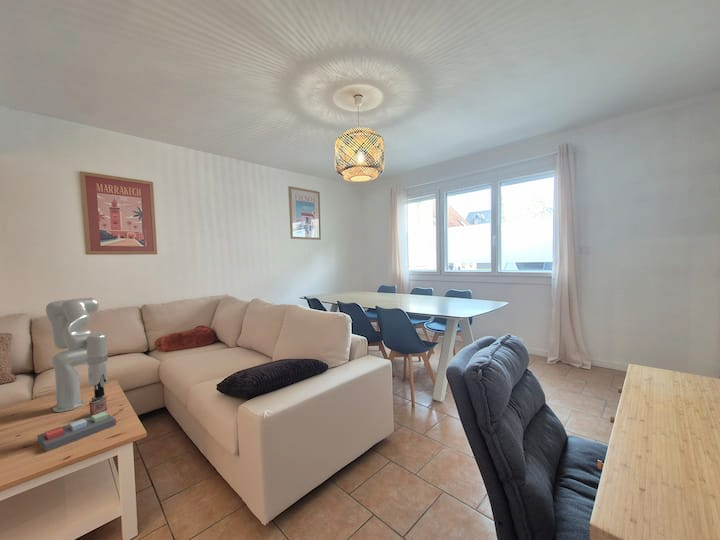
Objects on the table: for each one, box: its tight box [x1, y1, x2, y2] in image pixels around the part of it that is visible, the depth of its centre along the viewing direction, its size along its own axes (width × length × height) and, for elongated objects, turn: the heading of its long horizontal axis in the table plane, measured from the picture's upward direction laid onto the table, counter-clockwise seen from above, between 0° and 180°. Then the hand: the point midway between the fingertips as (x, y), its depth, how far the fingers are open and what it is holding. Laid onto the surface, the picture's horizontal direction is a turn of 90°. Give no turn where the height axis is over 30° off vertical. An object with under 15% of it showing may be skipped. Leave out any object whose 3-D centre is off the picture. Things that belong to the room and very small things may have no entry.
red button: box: [44, 426, 64, 440], centre depth 131 cm, size 5×5×3 cm
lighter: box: [88, 392, 108, 417], centre depth 157 cm, size 8×3×10 cm, turn 168°
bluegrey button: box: [69, 418, 87, 431], centre depth 138 cm, size 5×5×3 cm
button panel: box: [36, 413, 117, 453], centre depth 138 cm, size 14×24×3 cm, turn 148°
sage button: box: [92, 411, 109, 423], centre depth 145 cm, size 5×5×3 cm
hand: (99, 396), depth 145 cm, fingers closed
